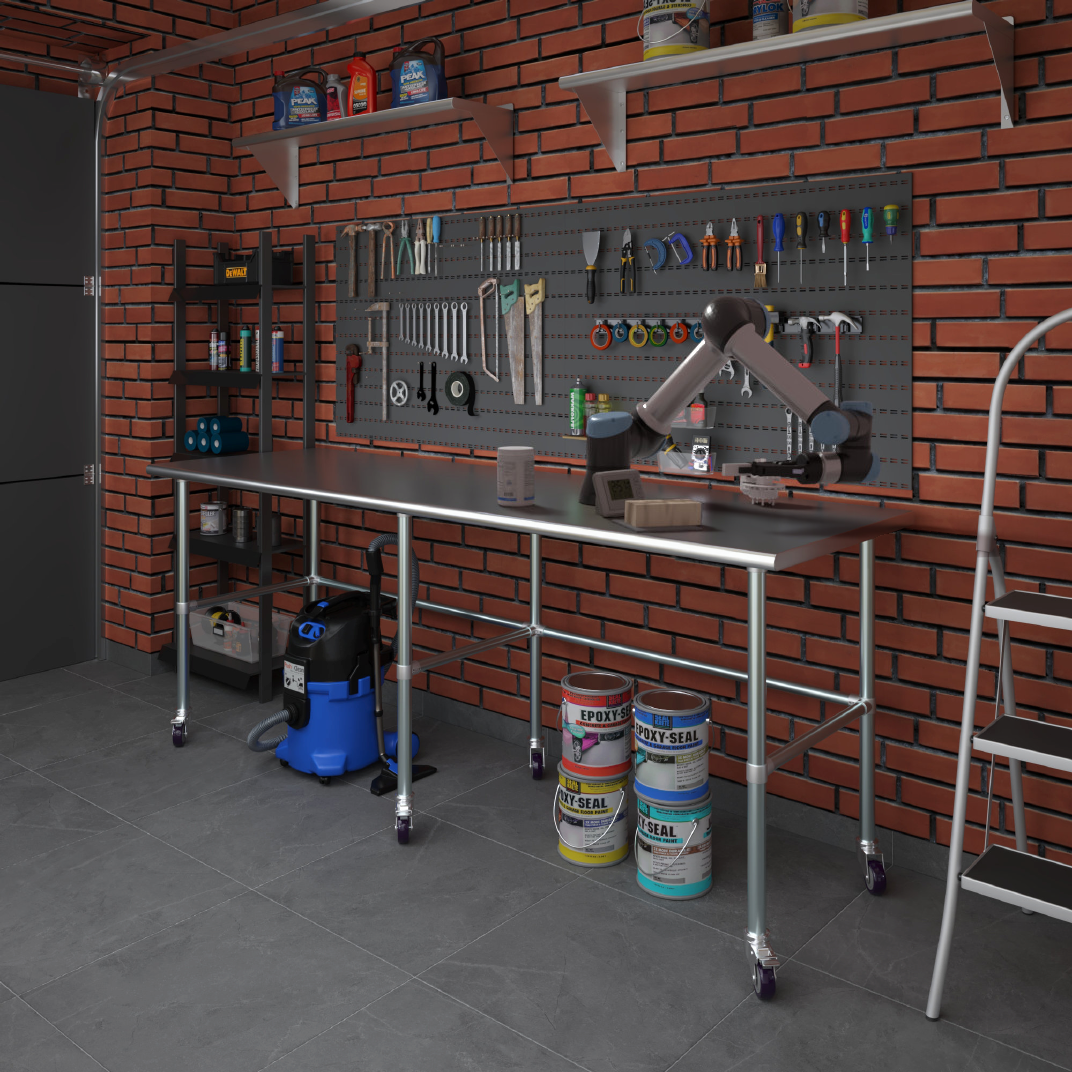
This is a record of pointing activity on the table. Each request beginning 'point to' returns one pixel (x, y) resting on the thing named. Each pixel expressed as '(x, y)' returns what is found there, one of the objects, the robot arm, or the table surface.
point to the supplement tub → (515, 476)
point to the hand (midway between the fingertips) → (723, 469)
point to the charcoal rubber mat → (656, 527)
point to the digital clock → (616, 491)
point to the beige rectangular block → (663, 512)
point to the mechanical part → (761, 486)
